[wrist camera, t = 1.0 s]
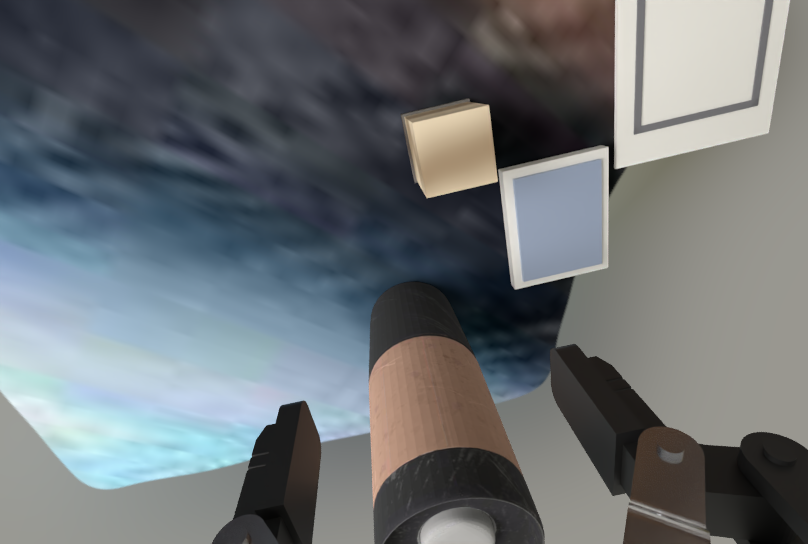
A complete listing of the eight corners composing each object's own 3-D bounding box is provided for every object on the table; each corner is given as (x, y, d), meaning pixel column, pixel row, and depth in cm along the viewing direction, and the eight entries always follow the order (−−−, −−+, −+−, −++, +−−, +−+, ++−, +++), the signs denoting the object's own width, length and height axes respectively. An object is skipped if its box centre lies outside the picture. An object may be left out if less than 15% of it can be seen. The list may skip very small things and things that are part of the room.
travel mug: (432, 262, 34) (513, 467, 16) (468, 331, 37) (570, 568, 19) (351, 303, 35) (338, 541, 17) (392, 366, 38) (420, 627, 20)
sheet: (615, -51, 26) (619, -53, 26) (801, -95, 26) (807, -98, 26) (614, 168, 32) (616, 169, 32) (765, 132, 32) (769, 133, 32)
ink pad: (498, 169, 31) (503, 172, 30) (601, 145, 31) (610, 147, 30) (511, 284, 35) (516, 291, 34) (602, 263, 35) (610, 269, 34)
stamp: (400, 114, 29) (409, 120, 24) (466, 98, 29) (491, 101, 23) (414, 180, 31) (425, 201, 26) (476, 166, 31) (500, 183, 26)
